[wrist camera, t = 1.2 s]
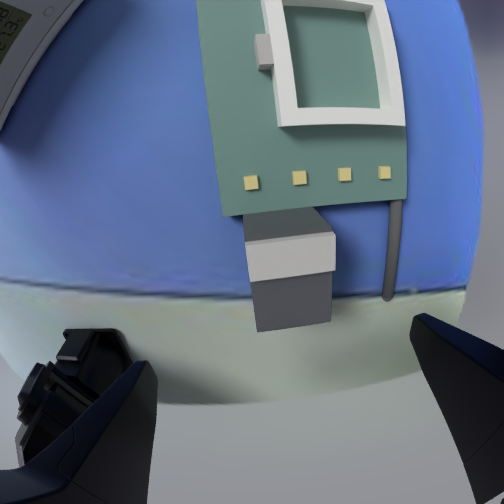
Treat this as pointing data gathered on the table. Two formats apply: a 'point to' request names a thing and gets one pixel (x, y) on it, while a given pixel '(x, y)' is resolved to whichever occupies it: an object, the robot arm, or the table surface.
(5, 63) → the digital clock
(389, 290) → the lead
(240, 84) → the header board
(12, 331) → the table surface
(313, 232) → the plug
